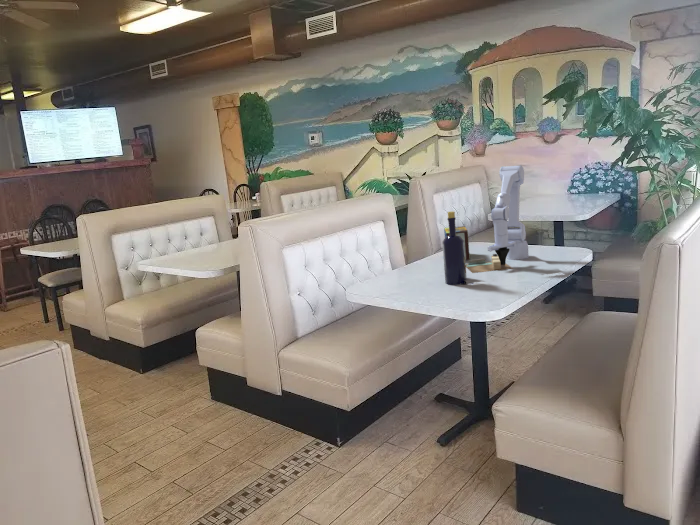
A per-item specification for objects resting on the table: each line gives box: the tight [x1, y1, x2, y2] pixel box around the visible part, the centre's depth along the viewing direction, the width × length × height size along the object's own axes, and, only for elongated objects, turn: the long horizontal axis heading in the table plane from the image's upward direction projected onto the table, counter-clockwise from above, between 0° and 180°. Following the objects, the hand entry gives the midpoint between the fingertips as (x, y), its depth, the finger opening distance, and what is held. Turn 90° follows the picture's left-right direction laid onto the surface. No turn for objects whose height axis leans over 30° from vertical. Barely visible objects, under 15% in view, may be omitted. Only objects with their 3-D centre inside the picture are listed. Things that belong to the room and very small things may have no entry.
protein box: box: [443, 225, 471, 261], centre depth 278 cm, size 10×15×16 cm
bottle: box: [442, 210, 468, 286], centre depth 234 cm, size 9×9×30 cm
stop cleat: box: [467, 258, 487, 265], centre depth 261 cm, size 8×1×2 cm, turn 92°
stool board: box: [466, 260, 514, 274], centre depth 254 cm, size 18×18×1 cm
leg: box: [491, 253, 501, 269], centre depth 252 cm, size 14×3×4 cm, turn 169°
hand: (502, 264), depth 249 cm, fingers closed, pressing on leg
